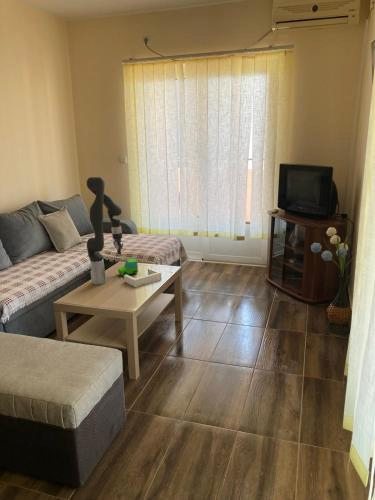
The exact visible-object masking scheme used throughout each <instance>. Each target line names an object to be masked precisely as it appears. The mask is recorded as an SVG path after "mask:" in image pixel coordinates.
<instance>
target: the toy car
mask: <svg viewBox="0 0 375 500" xmlns="http://www.w3.org/2000/svg"><path fill="white" fill-rule="evenodd" d="M117 271H118V273H119V275H121V276H124V275H130V274H133V275H137V274H138V273H139V268H138V261H137V260H136V259H135V258H130V259H125V263H124V266H121V267H118V268H117Z"/></svg>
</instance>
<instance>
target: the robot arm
mask: <svg viewBox="0 0 375 500" xmlns="http://www.w3.org/2000/svg"><path fill="white" fill-rule="evenodd" d="M86 187H87V189H88V190H89V191H90V192H92V194H94V196H95V199H94V201H93V202H92V204H91V205H90V208H89V222H90V224H91V226H92V228H93V231H94V237H89V238H88V239H87V241H86V249H87V255H88V258H89V262H90V279H91V280H90V281H91V284H93V285H94V286H98V285H103V284H105V283H106V282H107V279H106V271H105V263H104V256H103V254H102V253H101V252H102V251H103V250H104V247H105V238H104V207H105V208H106V209H107V211H106V212H107V216H108V217H109V220H110V225H111V236H112V240H114V241H112V243H113V246H114V249H116V251H117V254H118V255H121V254H122V253H121V251H122V249H123V247H124V243H122V238H123V230H122V229H123V228H122V225H121V223H122V222H121V219H120V218H118V217H119V216H121V214H122V208H121V206H119V205H118V204H117V203H116V202H115V201H114V200H113V199H112V197H111V196H110V195H109V194H108V193H106V192H105V179H104V178H103V177H97V176H92V177H91V176H90V177H88V178H87V180H86Z"/></svg>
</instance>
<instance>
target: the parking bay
mask: <svg viewBox="0 0 375 500" xmlns="http://www.w3.org/2000/svg"><path fill="white" fill-rule="evenodd" d="M123 278H124V282H125V283H127V284H128V285H130V286H133V287H135V288H137V287H141V286H144V285H147V284H150V283H153V282H157V281H159V280H162V272H160V271H158V270H156V269H153V268H147V275H144V276H141V277H137V278H135V277H133V276H130V274H127V275H123ZM143 284H144V285H143ZM140 285H141V286H140Z"/></svg>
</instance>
